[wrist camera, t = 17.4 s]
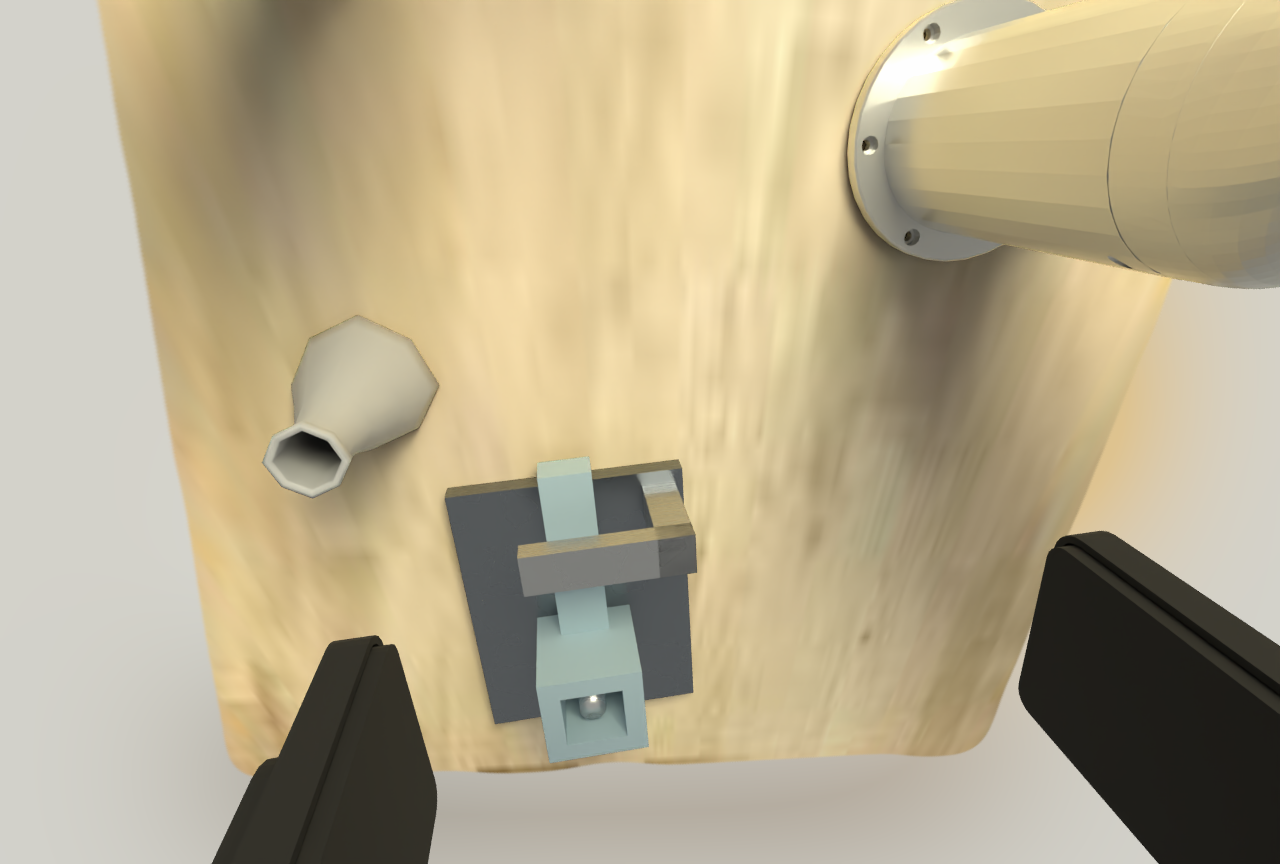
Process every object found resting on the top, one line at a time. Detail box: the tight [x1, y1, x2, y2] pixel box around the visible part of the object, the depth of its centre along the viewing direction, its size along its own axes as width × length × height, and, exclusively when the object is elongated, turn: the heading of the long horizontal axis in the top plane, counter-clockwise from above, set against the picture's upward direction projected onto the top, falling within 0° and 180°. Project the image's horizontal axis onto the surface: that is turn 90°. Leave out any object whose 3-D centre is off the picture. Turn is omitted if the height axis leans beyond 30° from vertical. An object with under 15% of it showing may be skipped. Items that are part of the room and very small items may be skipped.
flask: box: [262, 315, 439, 498], centre depth 31 cm, size 7×7×10 cm
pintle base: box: [445, 460, 697, 724], centre depth 40 cm, size 14×18×7 cm
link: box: [536, 457, 649, 763], centre depth 38 cm, size 17×6×6 cm, turn 4°
